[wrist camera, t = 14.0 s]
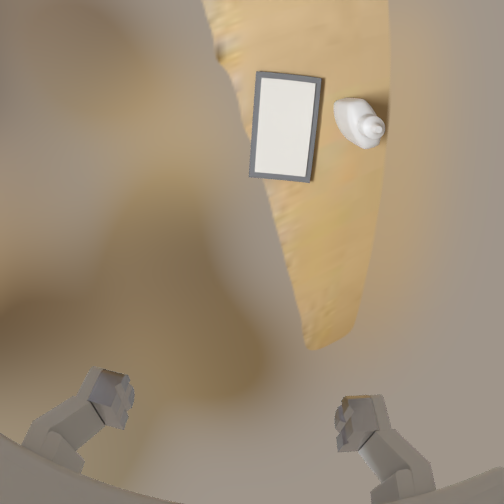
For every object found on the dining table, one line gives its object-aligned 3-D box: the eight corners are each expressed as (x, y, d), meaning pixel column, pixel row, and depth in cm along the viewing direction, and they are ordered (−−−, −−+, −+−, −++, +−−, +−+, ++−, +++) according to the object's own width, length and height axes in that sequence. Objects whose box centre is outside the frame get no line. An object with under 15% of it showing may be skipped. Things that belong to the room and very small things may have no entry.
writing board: (256, 71, 33) (256, 71, 32) (320, 78, 33) (321, 78, 32) (249, 175, 40) (248, 177, 39) (309, 181, 39) (309, 182, 39)
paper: (261, 77, 33) (261, 77, 32) (315, 83, 32) (315, 83, 32) (254, 171, 39) (254, 172, 38) (305, 176, 38) (305, 176, 38)
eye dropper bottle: (366, 101, 33) (404, 106, 23) (360, 142, 36) (393, 162, 26) (334, 95, 33) (361, 95, 23) (328, 136, 36) (352, 153, 26)
